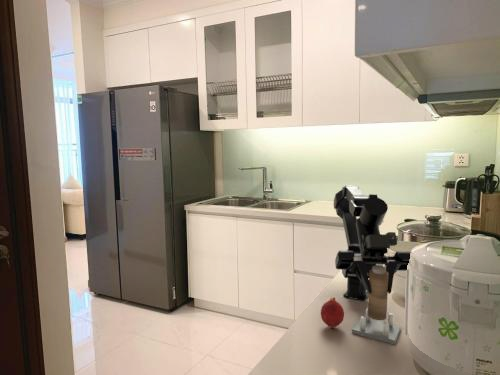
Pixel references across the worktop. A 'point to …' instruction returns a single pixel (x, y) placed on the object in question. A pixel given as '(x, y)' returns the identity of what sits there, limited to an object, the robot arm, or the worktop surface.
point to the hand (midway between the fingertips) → (379, 292)
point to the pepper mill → (378, 293)
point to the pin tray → (377, 328)
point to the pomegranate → (332, 313)
